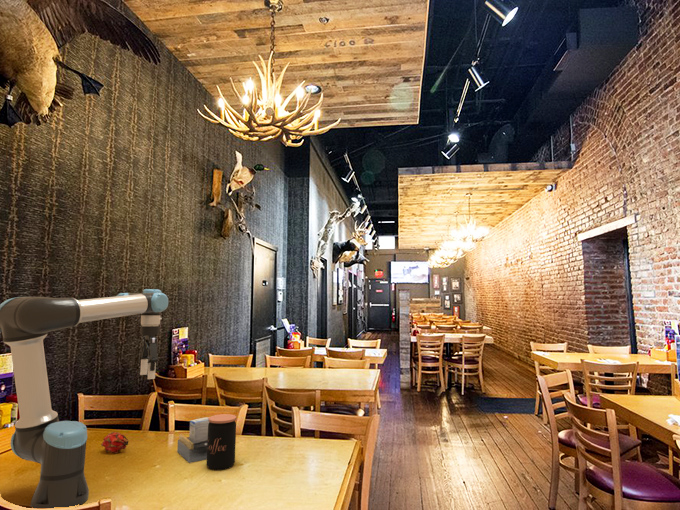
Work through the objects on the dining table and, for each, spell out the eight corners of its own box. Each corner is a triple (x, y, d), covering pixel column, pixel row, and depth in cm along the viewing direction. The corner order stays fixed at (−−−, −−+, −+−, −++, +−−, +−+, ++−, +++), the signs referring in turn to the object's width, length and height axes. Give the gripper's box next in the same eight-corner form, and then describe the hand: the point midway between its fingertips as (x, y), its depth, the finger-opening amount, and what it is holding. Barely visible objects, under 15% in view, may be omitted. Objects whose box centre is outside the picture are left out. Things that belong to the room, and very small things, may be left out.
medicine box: (206, 437, 181) (207, 416, 182) (211, 440, 178) (212, 418, 179) (188, 441, 175) (189, 420, 176) (193, 444, 172) (194, 422, 173)
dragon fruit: (103, 453, 181) (125, 460, 177) (92, 446, 175) (114, 453, 171) (116, 433, 187) (137, 440, 183) (105, 426, 180) (127, 433, 177)
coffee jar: (200, 467, 161) (202, 418, 163) (220, 459, 170) (221, 412, 172) (221, 473, 156) (223, 422, 158) (240, 463, 165) (242, 416, 167)
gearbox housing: (230, 454, 176) (230, 436, 177) (189, 463, 166) (189, 444, 167) (216, 444, 188) (217, 428, 189) (177, 451, 178) (178, 434, 179)
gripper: (167, 326, 172) (164, 379, 169) (152, 324, 192) (149, 372, 189) (147, 326, 168) (144, 381, 165) (134, 324, 187) (131, 373, 185)
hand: (147, 376), depth 177 cm, fingers open, 13 cm apart
